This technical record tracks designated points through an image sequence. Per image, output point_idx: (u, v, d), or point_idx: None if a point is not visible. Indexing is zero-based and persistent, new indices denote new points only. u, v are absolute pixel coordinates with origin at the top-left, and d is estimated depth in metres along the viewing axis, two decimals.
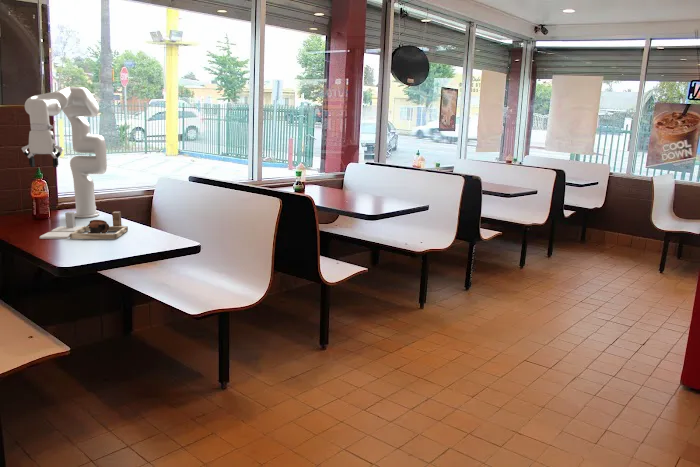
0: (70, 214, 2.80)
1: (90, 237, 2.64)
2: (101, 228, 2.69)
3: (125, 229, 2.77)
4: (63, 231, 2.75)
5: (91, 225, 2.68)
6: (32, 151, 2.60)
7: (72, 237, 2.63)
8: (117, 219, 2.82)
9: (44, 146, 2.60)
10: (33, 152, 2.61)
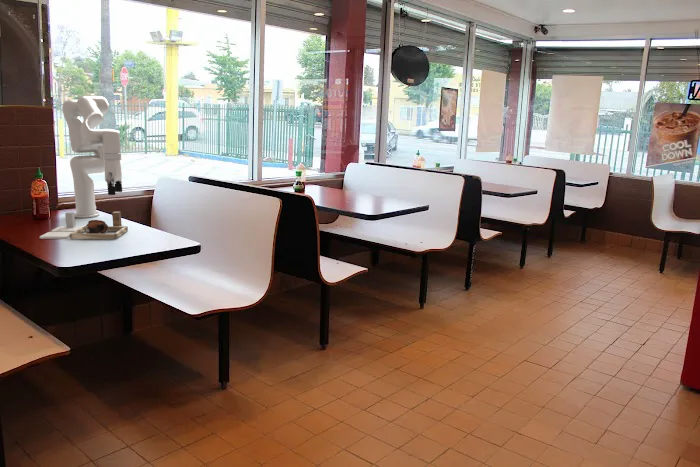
0: (70, 214, 2.80)
1: (90, 237, 2.64)
2: (100, 228, 2.69)
3: (125, 229, 2.77)
4: (63, 231, 2.75)
5: (90, 225, 2.68)
6: (116, 179, 2.76)
7: (72, 237, 2.63)
8: (117, 219, 2.82)
9: (120, 173, 2.80)
10: (116, 180, 2.76)
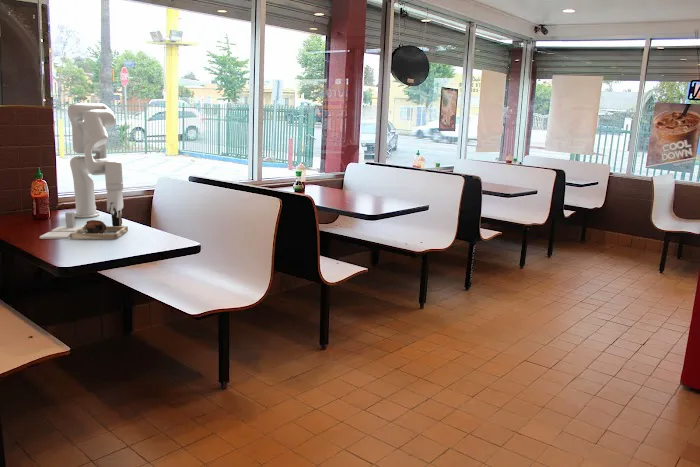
0: (70, 214, 2.80)
1: (90, 237, 2.64)
2: (98, 228, 2.68)
3: (125, 229, 2.77)
4: (63, 231, 2.75)
5: (88, 225, 2.67)
6: (118, 209, 2.79)
7: (72, 237, 2.63)
8: None
9: (122, 202, 2.84)
10: (118, 210, 2.79)
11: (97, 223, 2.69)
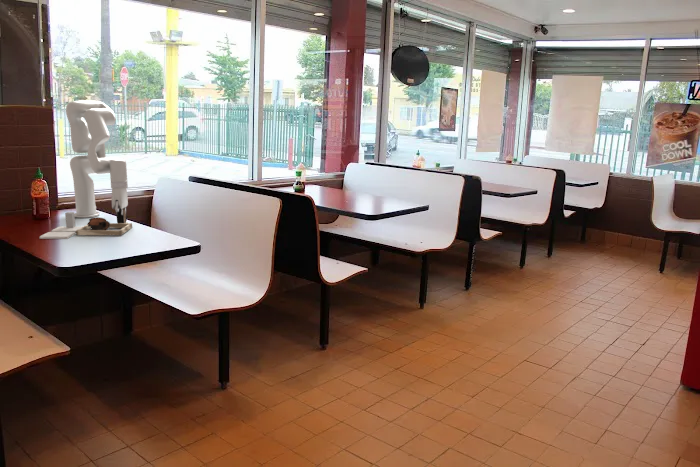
0: (70, 214, 2.80)
1: (96, 234, 2.70)
2: (102, 226, 2.74)
3: (130, 226, 2.84)
4: (63, 231, 2.75)
5: (92, 223, 2.73)
6: (122, 206, 2.86)
7: (78, 233, 2.70)
8: None
9: (126, 200, 2.90)
10: (122, 207, 2.86)
11: (100, 220, 2.75)
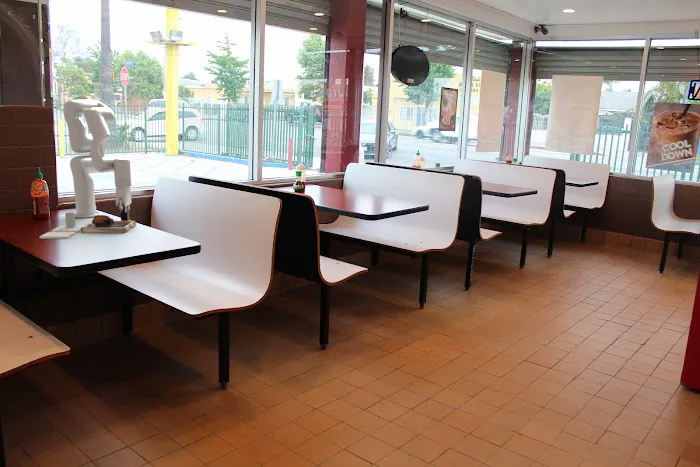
0: (70, 214, 2.80)
1: (100, 231, 2.76)
2: (106, 223, 2.79)
3: (133, 223, 2.90)
4: (63, 231, 2.75)
5: (96, 220, 2.78)
6: (126, 204, 2.91)
7: (83, 230, 2.76)
8: None
9: (130, 198, 2.96)
10: (126, 205, 2.92)
11: (104, 218, 2.80)
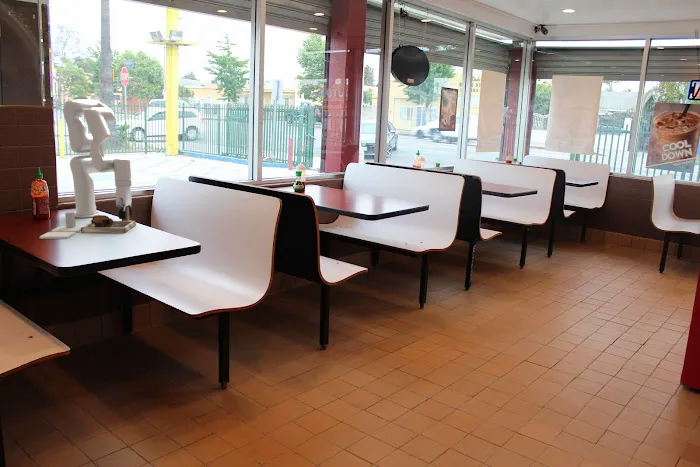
0: (70, 214, 2.80)
1: (100, 231, 2.76)
2: (105, 223, 2.80)
3: (133, 223, 2.90)
4: (63, 231, 2.75)
5: (95, 220, 2.78)
6: (126, 204, 2.92)
7: (83, 230, 2.76)
8: None
9: (130, 198, 2.96)
10: (126, 205, 2.92)
11: (104, 218, 2.80)
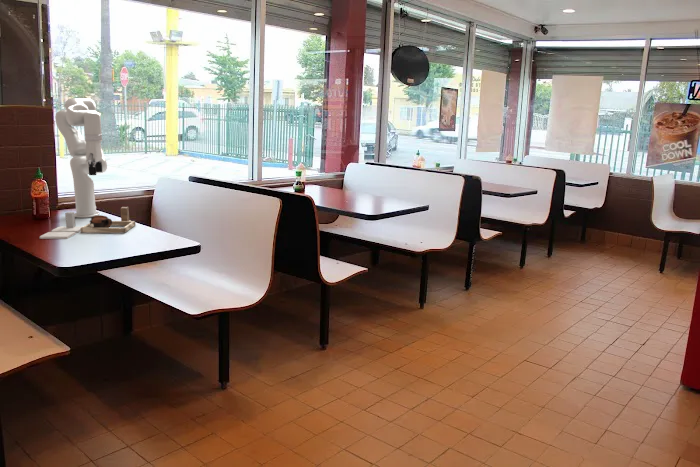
0: (70, 214, 2.80)
1: (100, 231, 2.76)
2: (104, 223, 2.79)
3: (133, 224, 2.90)
4: (63, 231, 2.75)
5: (94, 221, 2.78)
6: (97, 160, 2.85)
7: (82, 231, 2.75)
8: (125, 214, 2.94)
9: (100, 154, 2.90)
10: (97, 161, 2.85)
11: (103, 218, 2.80)
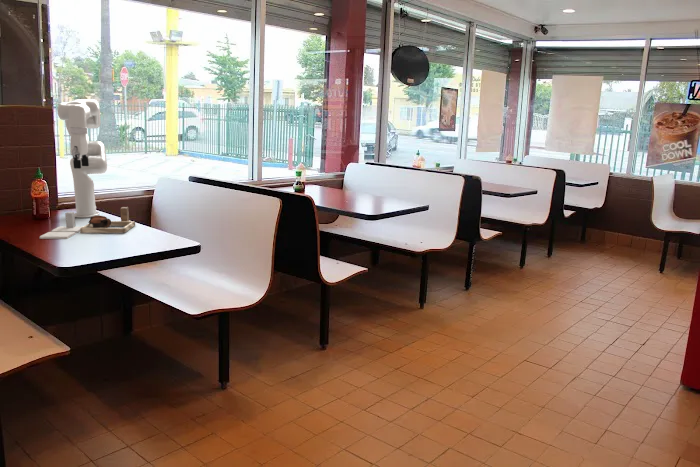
0: (70, 214, 2.80)
1: (100, 231, 2.75)
2: (103, 223, 2.79)
3: (133, 224, 2.89)
4: (63, 231, 2.75)
5: (93, 221, 2.77)
6: (81, 153, 2.83)
7: (82, 231, 2.75)
8: (125, 214, 2.94)
9: (86, 147, 2.87)
10: (82, 154, 2.83)
11: (102, 218, 2.80)
